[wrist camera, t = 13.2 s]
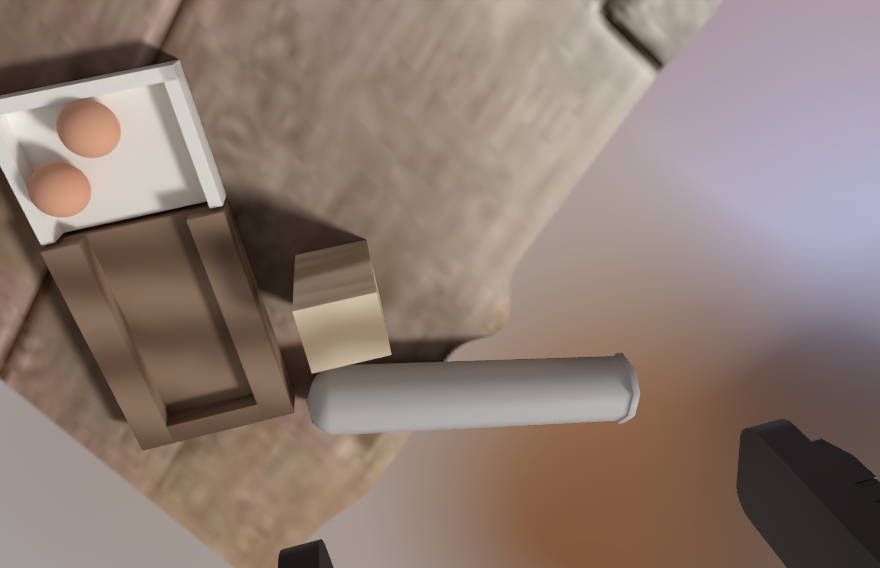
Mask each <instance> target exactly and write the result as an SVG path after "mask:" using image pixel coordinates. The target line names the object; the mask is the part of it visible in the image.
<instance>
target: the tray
mask: <svg viewBox="0 0 880 568" xmlns="http://www.w3.org/2000/svg"><path fill="white" fill-rule="evenodd" d="M79 100H92V101H96V102H99V103H101V104H103V105H105V106H106V107H107V108H109V109H110V110H111V111H112V112H113V113H114V114H115V116H116V117H117V119H118V121H119V124H120V128H121V136H120V140H119V143H118V145H117V146H116V148H115V149H114V150H113V151H112V152H110V153H109V154H107V155H105V156H102V157H98V158H86V157H82V156H79V155H77V154H75V153H73V152H71V151H70V150H69V149H68V148H66V147H65V146H64V144H63V143H62V142H61V140H60V138H59V136H58V133H57V126H56V124H57V119H58V116H59V114H60V112H61V111H62V109H63V108H64V107H66V106H67V105H68V104H70V103H72V102H75V101H79ZM54 162H61V163H67V164H70V165H72V166H74V167H76V168H78V169H79V170H80V171H82V172H83V173H84V175H85V176H86V177H87V179H88V181H89V183H90V186H91V198H90V201H89V203H88V205H87V206H86V207H85V209H84V210H82V211H81V212H80V213H78V214H76V215H74V216H70V217H63V218H60V217H53V216H50V215H47V214H45V213H43V212H42V211H40V210H39V209H38V208H37V207H36V206H35V205H34V204H33V203H32V201H31V199H30V197H29V194H28V182H29V179H30V177H31V175H32V174H33V172H34V171H35V170H36V169H38V168H39V167H41V166H43V165H45V164H48V163H54ZM0 166H1V168H2V170H3V172H4V174H5V176H6V178H7V180H8V182H9V184H10V186H11V188H12V190H13V192H14V194H15V196H16V198H17V199H18V201H19V203H20V205H21V207H22V209H23V211H24V213H25V215H26V217H27V219H28V221H29V223H30V225H31V227H32V229H33V231H34V233H35V234H36V236H37V238H38V240H39V242H40V244H41V246H42V245H46V244H51V243H55V242H56V241H57V240H58V238H59V237H60V236H61V235H62V234H63V233H65V232H69V231H74V230H78V229H83V228H87V227H92V226H97V225H101V224H106V223H110V222H115V221H119V220H124V219H129V218H133V217H138V216H142V215H147V214H152V213H156V212H161V211H165V210H170V209H174V208H179V207H184V206H188V205H193V204H197V203H202V202H208V205H209V208H215V207H220V206H223V204H224V201H225V198H226V193H225V190H224V187H223V184H222V181H221V178H220V175H219V172H218V170H217V167H216V164H215V161H214V158H213V155H212V152H211V149H210V146H209V144H208V141H207V138H206V135H205V132H204V129H203V126H202V123H201V120H200V118H199V115H198V112H197V109H196V106H195V103H194V100H193V97H192V94H191V92H190V89H189V86H188V83H187V80H186V77H185V74H184V71H183V68H182V66H181V63H180V60H175V61H170V62H165V63H160V64H155V65H150V66H145V67H140V68H135V69H130V70H125V71H120V72H115V73H110V74H105V75H100V76H95V77H90V78H85V79H80V80H75V81H70V82H65V83H60V84H55V85H50V86H45V87H40V88H35V89H30V90H25V91H20V92H15V93H10V94H5V95H0Z"/></svg>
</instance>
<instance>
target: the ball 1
mask: <svg viewBox="0 0 880 568" xmlns="http://www.w3.org/2000/svg"><path fill="white" fill-rule="evenodd" d="M56 126H57V133H58V136H59V138H60V140H61V142H62V143H63V144H64V146H65V147H66V148H68V149H69V150H70V151H71V152H73V153H75V154H77V155H79V156H82V157H86V158H98V157H102V156H105V155H107V154H109V153H110V152H112V151H113V150H114V149H115V148H116V146H117V145H118V143H119V140H120V136H121V128H120V124H119V121H118V119H117V117H116V116H115V114H114V113H113V112H112V111H111V110H110V109H109V108H107V107H106V106H105V105H103V104H101V103H99V102H96V101H92V100H79V101H75V102H72V103H70V104H68V105H67V106H66V107H64V108H63V109H62V111H61V112H60V114H59V116H58V119H57V124H56Z"/></svg>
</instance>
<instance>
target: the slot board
mask: <svg viewBox="0 0 880 568" xmlns="http://www.w3.org/2000/svg"><path fill="white" fill-rule="evenodd" d="M40 253H41V255H42V257H43V259H44V261H45V263H46V265H47V267H48V269H49V271H50V273H51V275H52V277H53V279H54V280H55V282H56V284H57V286H58V288H59V290H60V292H61V294H62V296H63V298H64V300H65V302H66V304H67V306H68V307H69V309H70V311H71V313H72V315H73V317H74V319H75V321H76V323H77V325H78V327H79V329H80V331H81V333H82V335H83V336H84V338H85V340H86V342H87V344H88V346H89V348H90V350H91V352H92V354H93V356H94V358H95V360H96V362H97V363H98V365H99V367H100V369H101V371H102V373H103V375H104V377H105V379H106V381H107V383H108V385H109V387H110V389H111V390H112V392H113V394H114V396H115V398H116V400H117V402H118V404H119V406H120V408H121V410H122V412H123V414H124V416H125V418H126V419H127V421H128V423H129V425H130V427H131V429H132V431H133V433H134V435H135V437H136V439H137V441H138V443H139V445H140V446H141V448H142V450H147V449H151V448H155V447H159V446H163V445H167V444H171V443H175V442H179V441H183V440H187V439H191V438H195V437H199V436H203V435H207V434H211V433H215V432H219V431H224V430H228V429H232V428H236V427H240V426H244V425H248V424H252V423H256V422H260V421H264V420H268V419H272V418H276V417H280V416H284V415H288V414H292V413H294V401H295V392H294V389H293V386H292V383H291V380H290V377H289V375H288V372H287V369H286V366H285V363H284V360H283V357H282V354H281V351H280V349H279V346H278V343H277V340H276V337H275V334H274V331H273V328H272V325H271V323H270V320H269V317H268V314H267V311H266V308H265V305H264V302H263V299H262V297H261V294H260V291H259V288H258V285H257V282H256V279H255V276H254V273H253V271H252V268H251V265H250V262H249V259H248V256H247V253H246V250H245V247H244V245H243V242H242V239H241V236H240V233H239V230H238V227H237V224H236V221H235V219H234V216H233V213H232V210H231V207H230V204H229V201H228V199H225V201H224V204H223V206H220V207H215V208H209V205H208V203H206V204H202V205H197V206H193V207H188V208H184V209H179V210H174V211H170V212H165V213H161V214H156V215H152V216H147V217H142V218H138V219H133V220H129V221H124V222H120V223H115V224H110V225H106V226H101V227H97V228H92V229H88V230H83V231H78V232H74V233H69V234H65V235H61V236H60V237H59V238H58V240H57V241H56V242H55V243H51V244H47V246H46V247H45V248H44V249H43V250H42V251H41V252H40Z"/></svg>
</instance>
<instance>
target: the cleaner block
mask: <svg viewBox="0 0 880 568" xmlns="http://www.w3.org/2000/svg"><path fill="white" fill-rule="evenodd" d="M292 312H293V315H294V318H295V321H296V325H297V328H298V331H299V334H300V337H301V341H302V344H303V347H304V350H305V353H306V357H307V360H308V363H309V366H310V369H311V373H317V372H321V371H325V370H329V369H334V368H338V367H342V366H346V365H351V364H355V363H359V362H363V361H368V360H372V359H376V358H380V357H385V356H389V355H392V354H391V349H390V344H389V340H388V335H387V330H386V325H385V320H384V315H383V311H382V306H381V301H380V296H379V292H378V287H377V283H376V279H375V275H374V270H373V266H372V262H371V257H370V253H369V249H368V245H367V240H362V241H358V242H353V243H349V244H344V245H340V246H335V247H330V248H326V249H321V250H317V251H312V252H308V253H303V254H299V255H295V268H294V288H293V309H292Z"/></svg>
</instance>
